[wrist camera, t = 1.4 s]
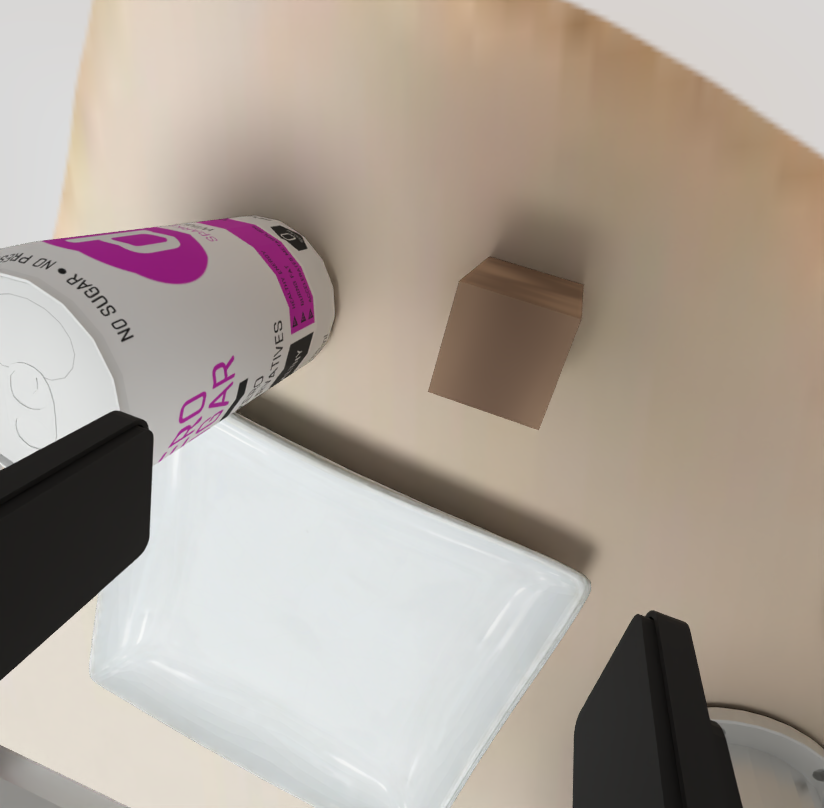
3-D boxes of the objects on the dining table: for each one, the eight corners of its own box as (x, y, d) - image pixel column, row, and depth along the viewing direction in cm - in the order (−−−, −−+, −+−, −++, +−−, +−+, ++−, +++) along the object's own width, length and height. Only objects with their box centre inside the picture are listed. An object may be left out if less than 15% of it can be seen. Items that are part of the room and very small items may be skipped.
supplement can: (203, 201, 30) (-110, 222, 17) (349, 233, 28) (136, 286, 15) (200, 347, 33) (-62, 464, 20) (332, 384, 32) (143, 536, 18)
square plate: (429, 813, 43) (415, 869, 40) (119, 644, 46) (80, 683, 43) (598, 546, 31) (599, 593, 28) (166, 345, 34) (119, 365, 31)
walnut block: (583, 284, 26) (581, 319, 20) (550, 373, 28) (538, 430, 22) (489, 256, 27) (459, 280, 21) (463, 344, 29) (428, 391, 23)
